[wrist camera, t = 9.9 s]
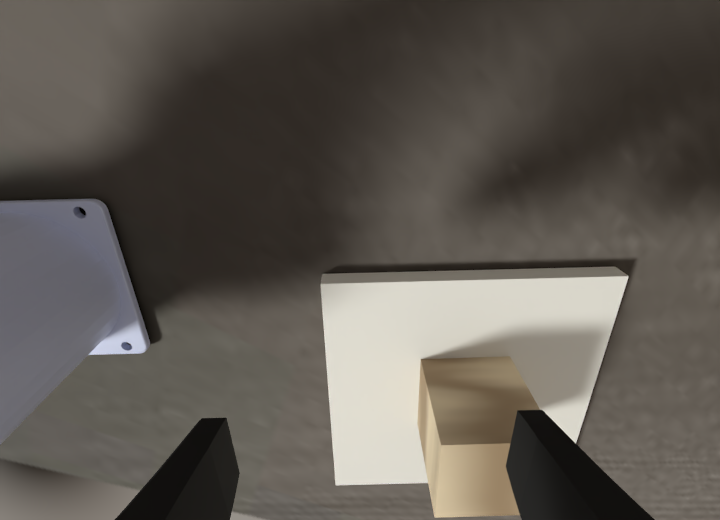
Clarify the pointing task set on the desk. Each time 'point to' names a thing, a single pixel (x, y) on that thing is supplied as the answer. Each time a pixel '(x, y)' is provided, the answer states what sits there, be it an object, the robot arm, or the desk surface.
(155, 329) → the desk surface
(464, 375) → the oak block
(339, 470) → the board
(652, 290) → the desk surface
